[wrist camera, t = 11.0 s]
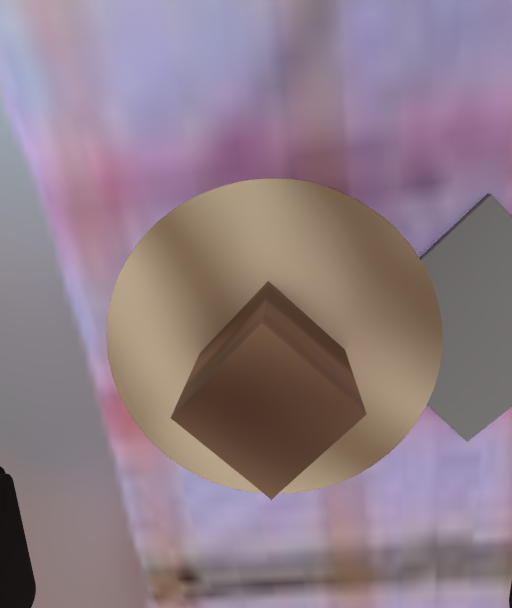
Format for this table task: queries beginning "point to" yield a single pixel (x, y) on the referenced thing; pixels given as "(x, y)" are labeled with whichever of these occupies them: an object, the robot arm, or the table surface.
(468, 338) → the mat
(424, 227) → the table surface
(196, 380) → the lid
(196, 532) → the table surface
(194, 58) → the table surface
